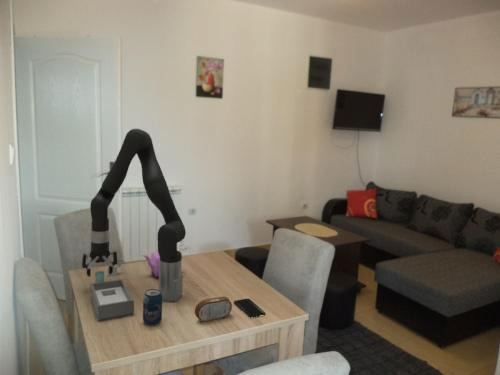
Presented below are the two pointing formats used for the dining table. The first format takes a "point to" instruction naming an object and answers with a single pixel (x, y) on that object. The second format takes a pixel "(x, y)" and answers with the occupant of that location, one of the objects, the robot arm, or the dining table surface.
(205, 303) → the bluetooth speaker
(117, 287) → the bin
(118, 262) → the lighter
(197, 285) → the dining table surface
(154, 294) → the soda can
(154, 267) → the teapot
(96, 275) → the peg
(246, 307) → the phone
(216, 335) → the dining table surface
